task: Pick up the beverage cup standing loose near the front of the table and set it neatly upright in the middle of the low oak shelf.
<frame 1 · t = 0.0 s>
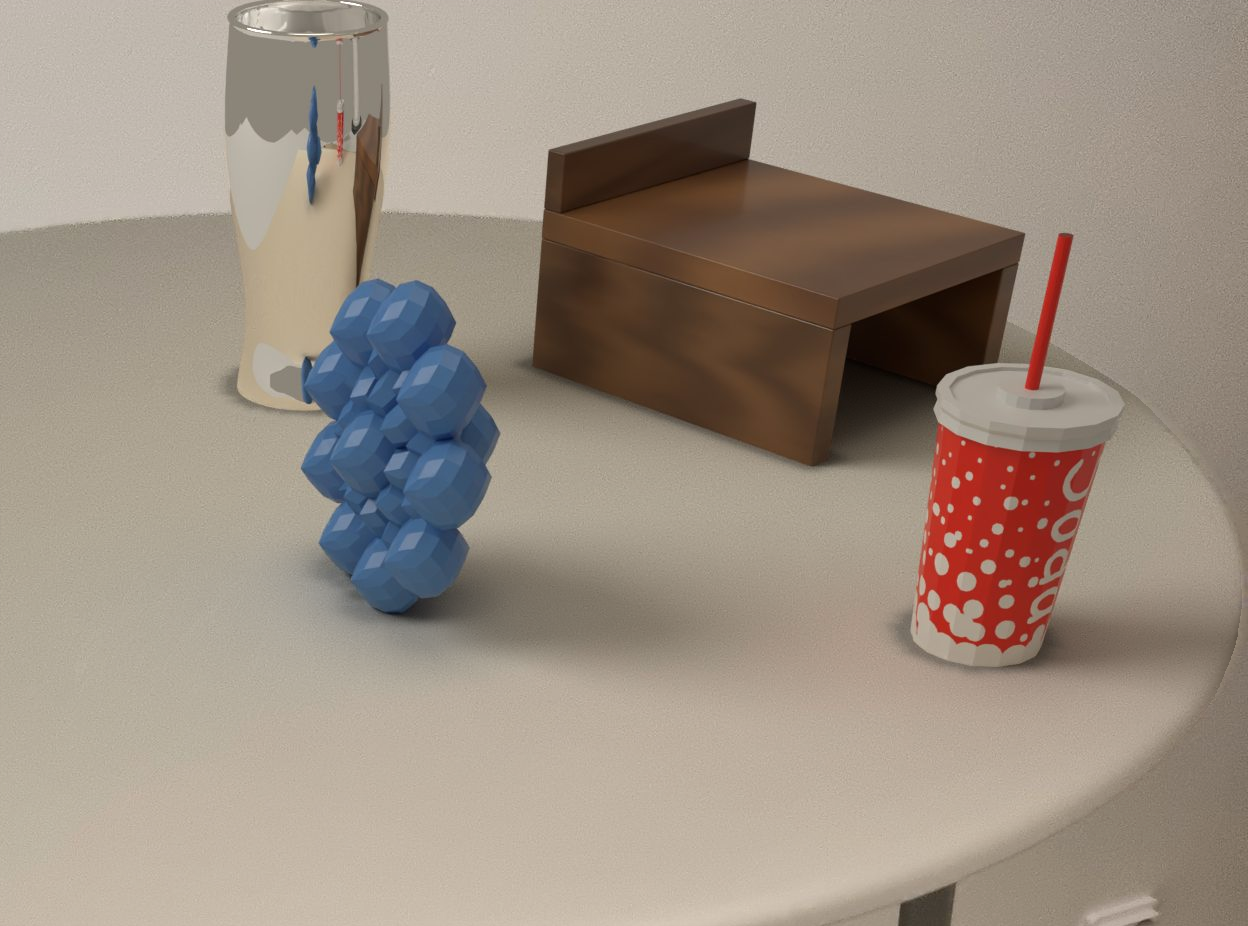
grapes: (409, 611, 82), on the table
shelf: (757, 385, 99), on the table
beer glass: (304, 396, 98), on the table
beverage cup: (972, 650, 79), on the table
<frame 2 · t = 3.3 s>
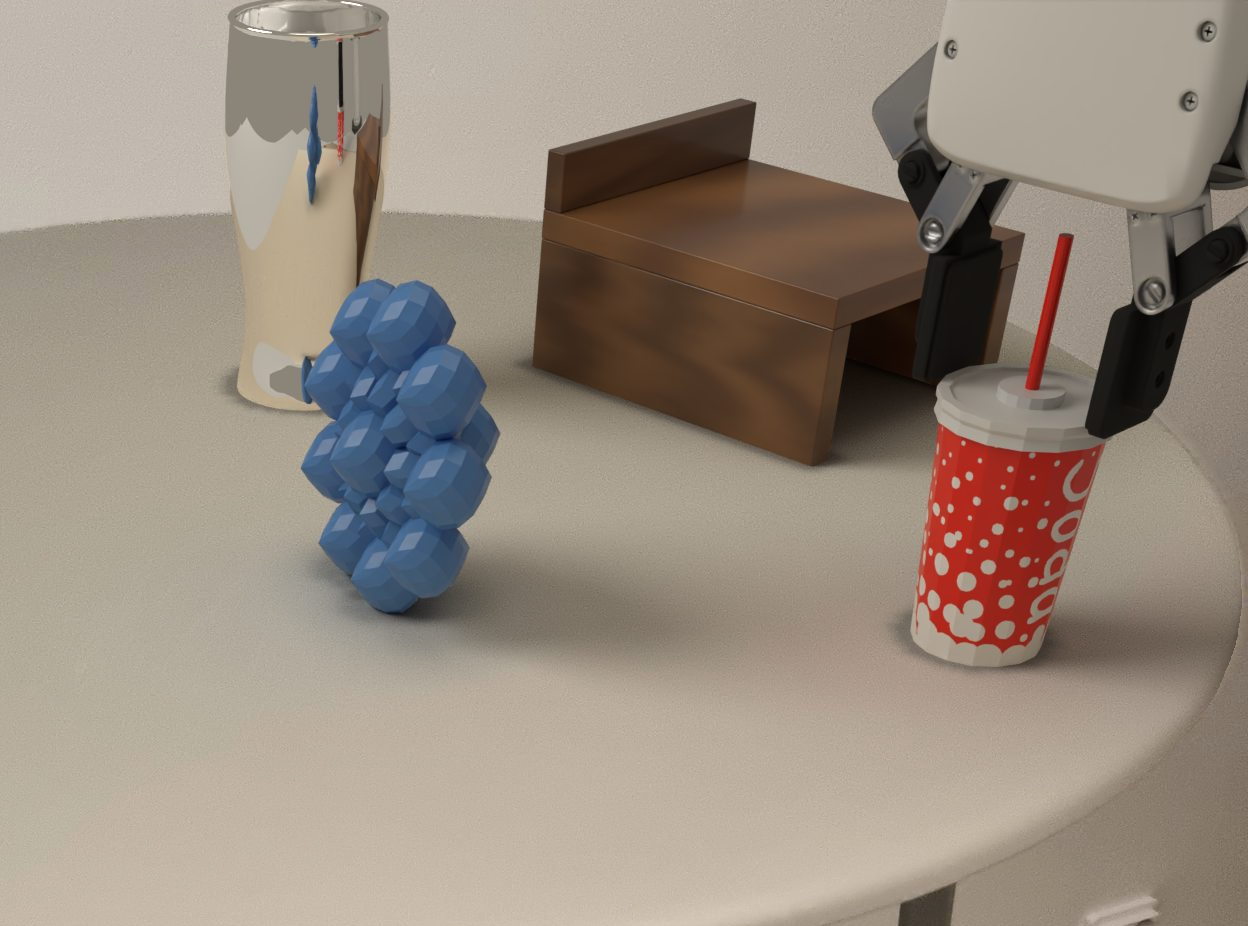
hand: (1030, 393, 73), 9 cm above the table, tool pointing down, fingers closed on beverage cup, 6 cm apart
beverage cup: (972, 650, 79), on the table, touching gripper
everything else where it was.
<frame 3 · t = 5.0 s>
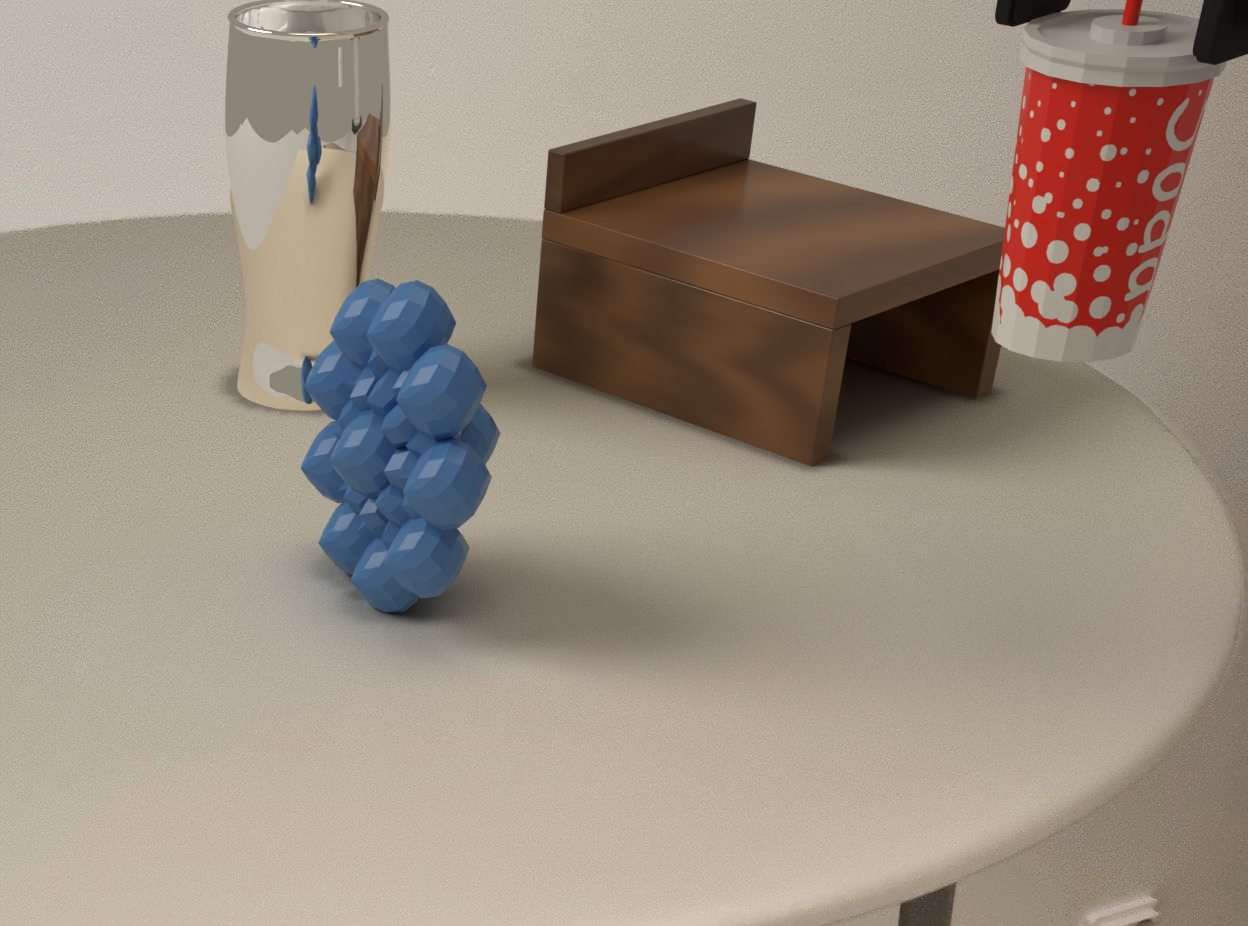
hand: (1128, 30, 66), 20 cm above the table, tool pointing down, fingers closed on beverage cup, 6 cm apart
beverage cup: (1061, 344, 72), point 11 cm above the table, touching gripper
everything else where it was.
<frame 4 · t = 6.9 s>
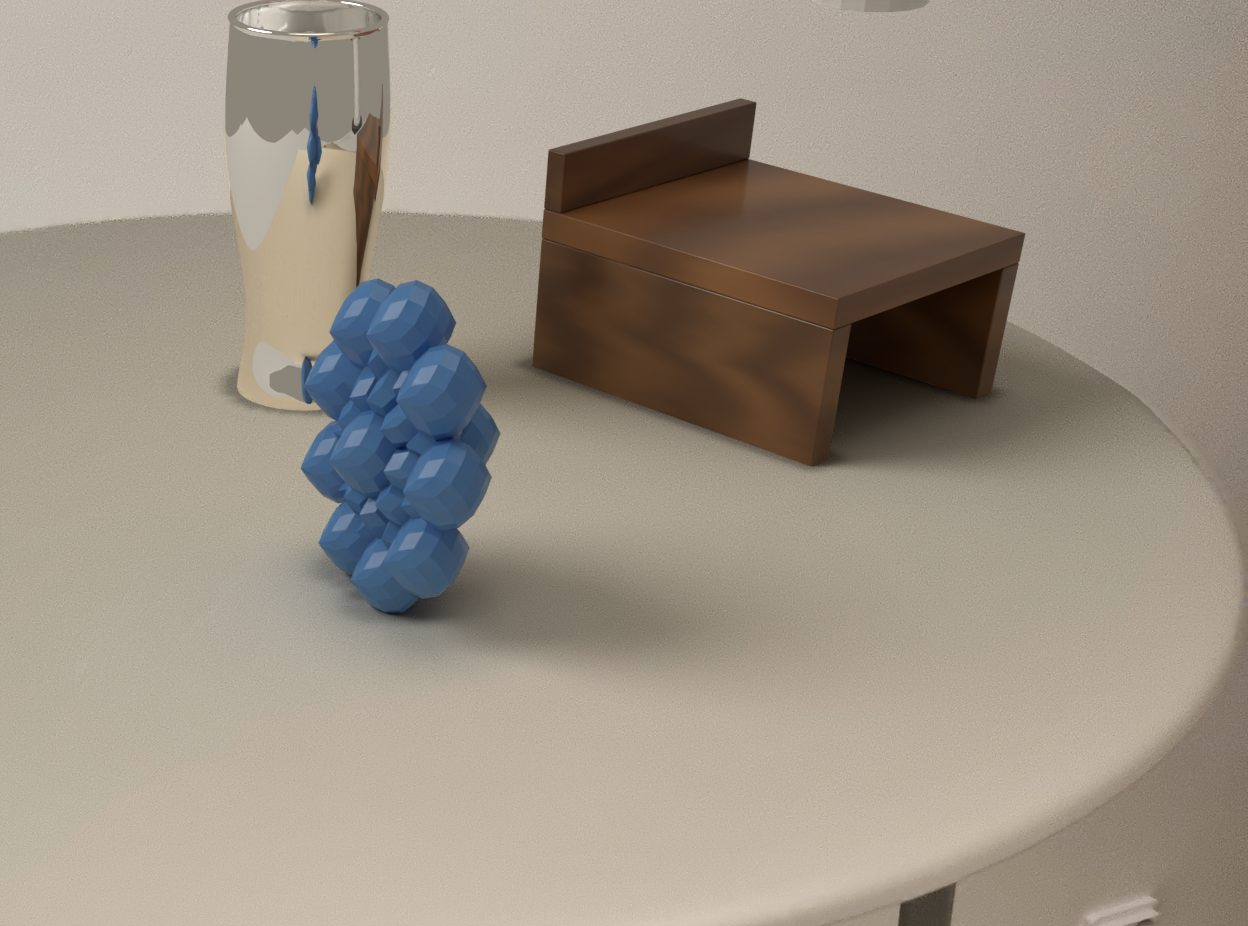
beverage cup: (867, 4, 83), point 16 cm above the table, touching gripper
everything else where it was.
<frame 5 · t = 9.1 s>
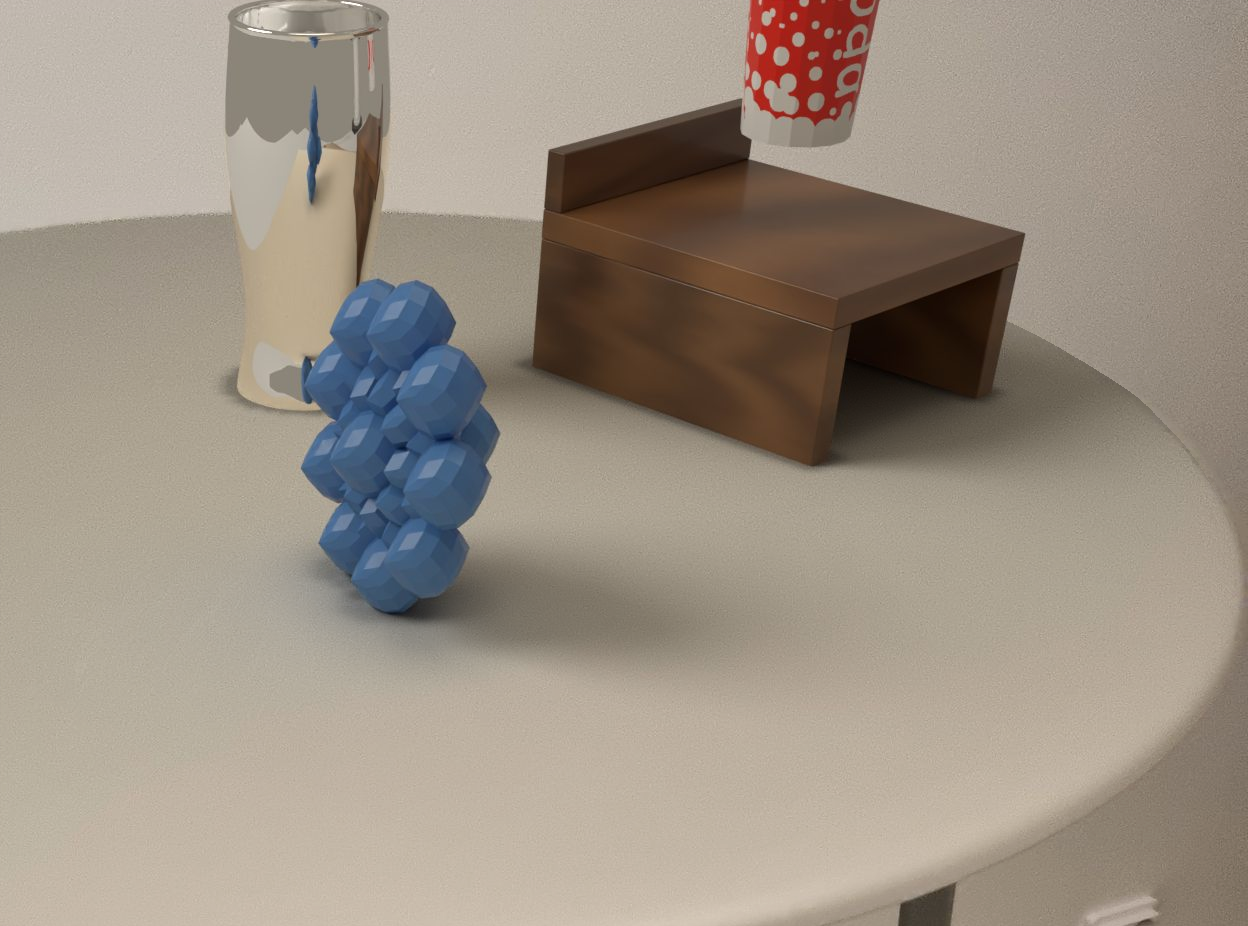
beverage cup: (794, 137, 92), point 10 cm above the table, touching gripper
everything else where it was.
when the fingers open (16 cm above the table, at t = 10.6 s): beverage cup stays where it is, resting on shelf.
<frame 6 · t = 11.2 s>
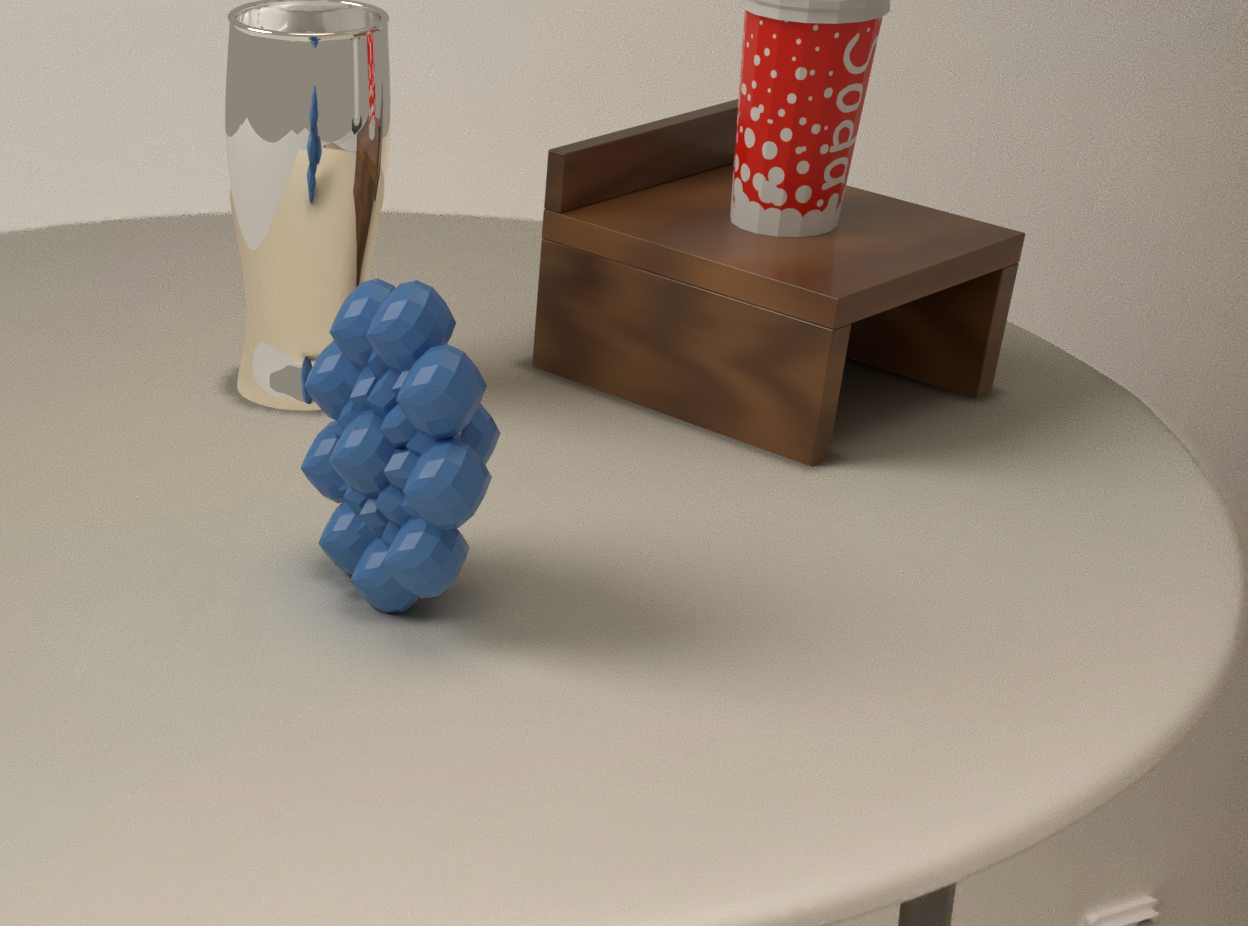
beverage cup: (782, 226, 94), point 7 cm above the table, touching shelf
everything else where it was.
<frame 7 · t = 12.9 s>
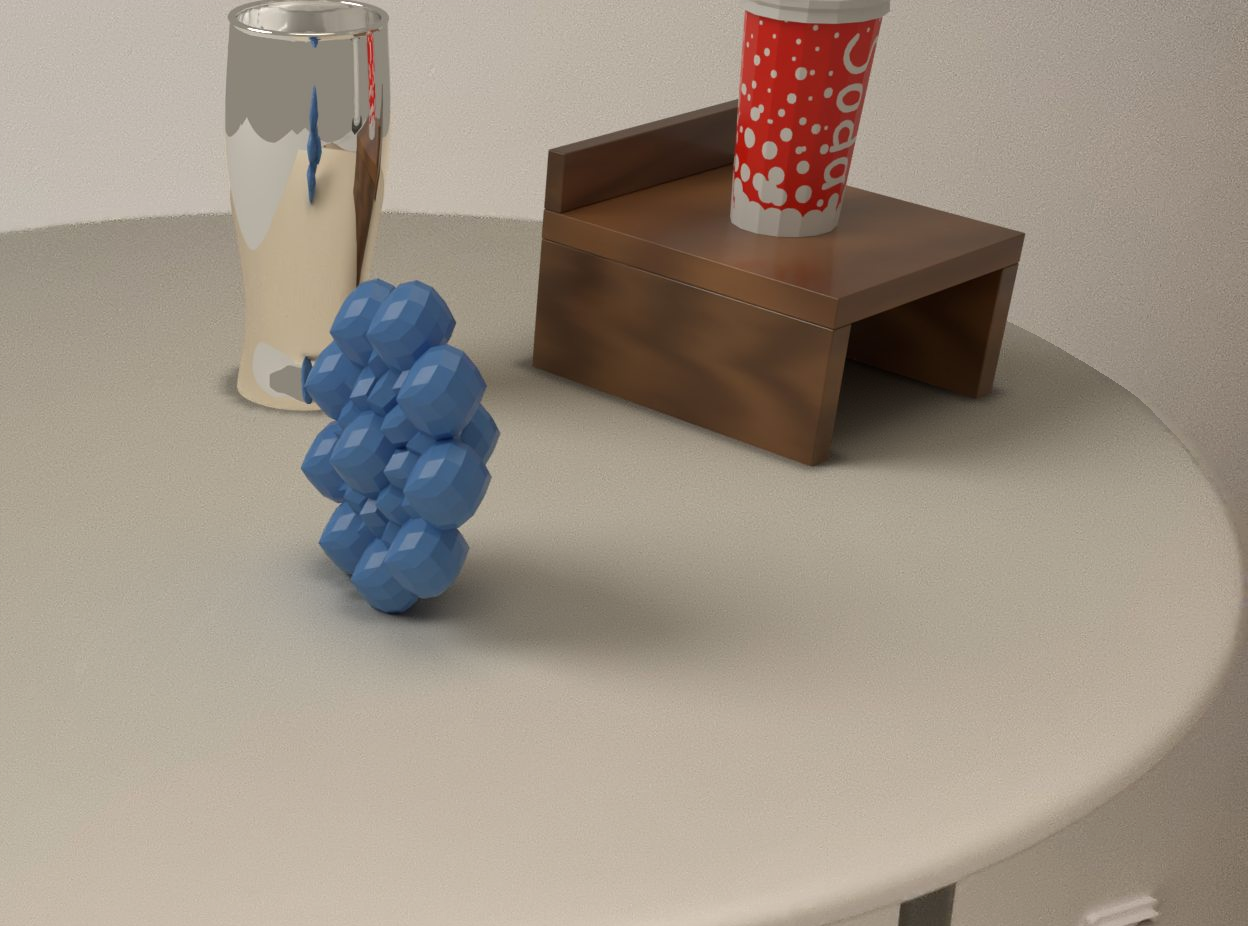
nothing on the table moved.
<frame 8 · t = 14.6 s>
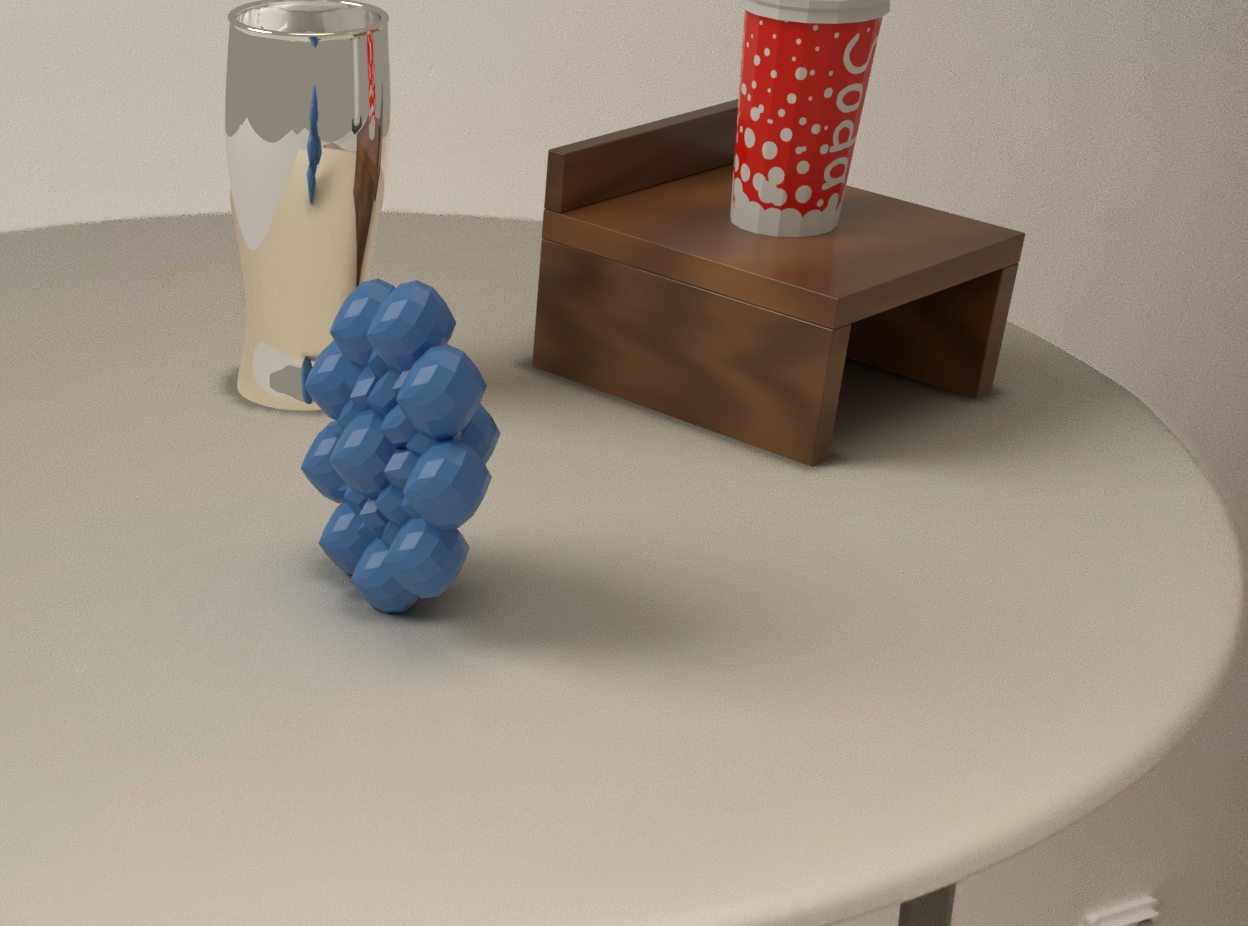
nothing on the table moved.
at the end: beverage cup inside the target area on the shelf (0.1 cm from its centre), point 6.8 cm above the shelf's base; beverage cup tilted 0°; the gripper is holding nothing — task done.
